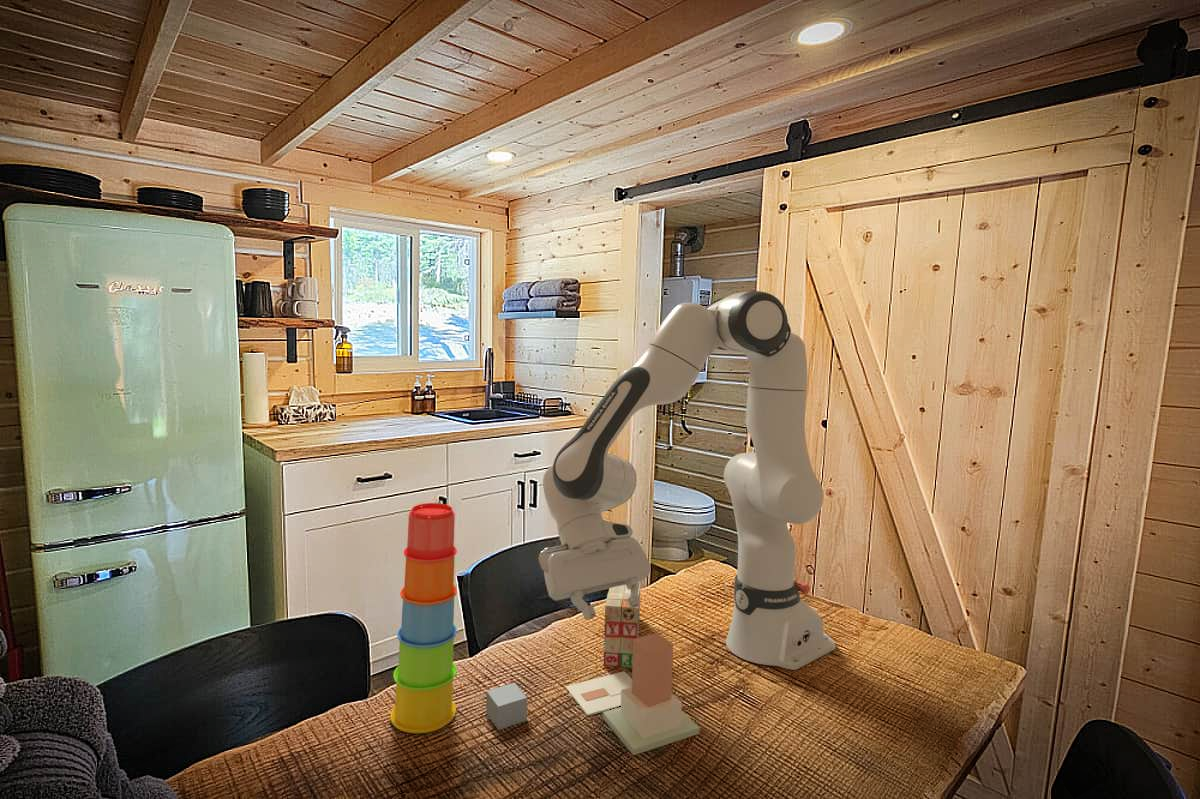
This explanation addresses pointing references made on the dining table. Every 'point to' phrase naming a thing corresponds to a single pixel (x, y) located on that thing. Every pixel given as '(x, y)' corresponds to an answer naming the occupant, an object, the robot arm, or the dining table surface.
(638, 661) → the terracotta brick
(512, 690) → the slate brick
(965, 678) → the dining table surface
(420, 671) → the stacking cups
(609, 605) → the stack of blocks
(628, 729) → the tower base
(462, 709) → the dining table surface
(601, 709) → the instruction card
